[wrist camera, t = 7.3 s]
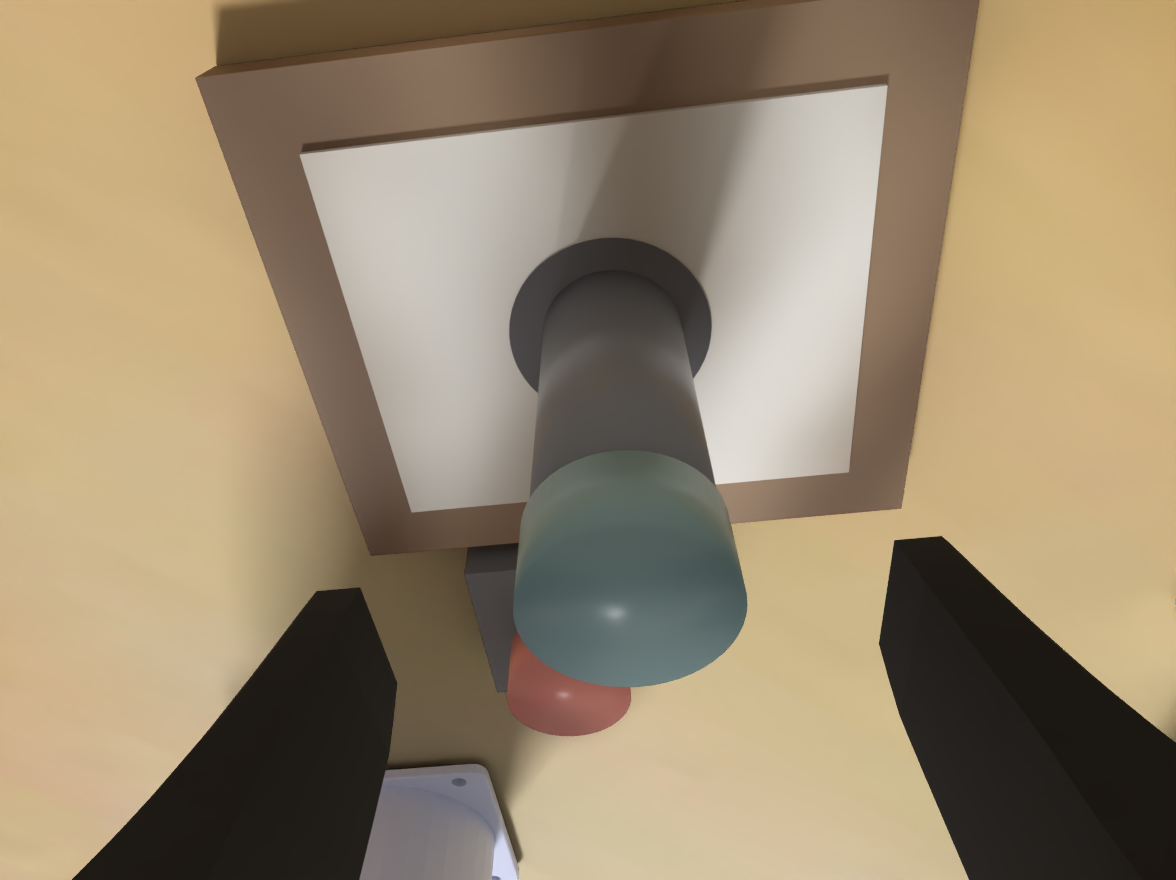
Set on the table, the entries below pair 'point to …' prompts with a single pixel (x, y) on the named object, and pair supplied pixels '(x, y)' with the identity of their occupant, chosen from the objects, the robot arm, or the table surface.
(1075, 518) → the table surface
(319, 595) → the robot arm
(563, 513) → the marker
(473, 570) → the button base
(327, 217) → the sketch board
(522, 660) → the button
